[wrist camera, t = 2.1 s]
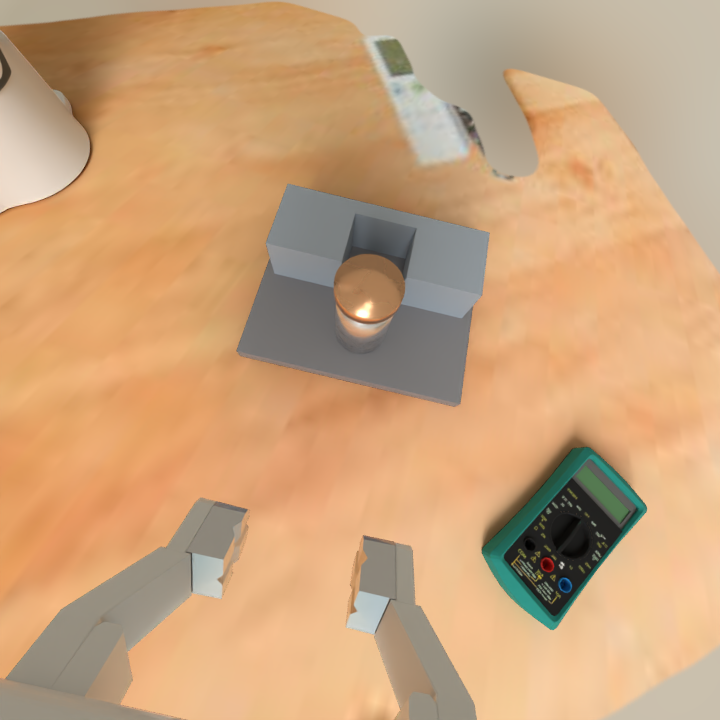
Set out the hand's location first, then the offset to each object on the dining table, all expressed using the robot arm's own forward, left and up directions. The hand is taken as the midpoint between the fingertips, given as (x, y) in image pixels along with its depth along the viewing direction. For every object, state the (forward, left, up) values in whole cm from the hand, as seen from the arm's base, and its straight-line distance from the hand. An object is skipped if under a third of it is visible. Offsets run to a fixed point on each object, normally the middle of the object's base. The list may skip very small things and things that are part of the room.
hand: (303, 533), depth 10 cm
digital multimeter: (+22, +1, -22) cm, 31 cm away
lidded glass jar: (0, +15, -20) cm, 25 cm away
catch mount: (0, +18, -21) cm, 28 cm away
